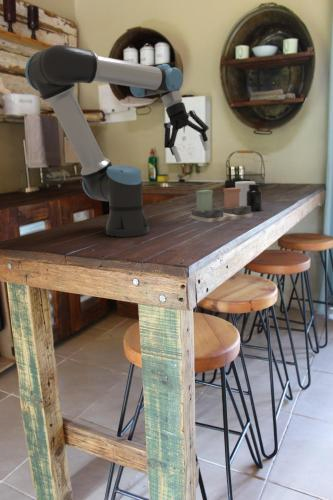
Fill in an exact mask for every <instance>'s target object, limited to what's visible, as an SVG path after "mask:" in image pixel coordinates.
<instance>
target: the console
mask: <svg viewBox="0 0 333 500" xmlns="http://www.w3.org/2000/svg"><path fill="white" fill-rule="evenodd" d="M253 216H254V215H253V213H252V211H251V206H239V207H233V209H229V208H224V206H219V207H218V208H214V209H213V208H212V209H211V210H205V212H201V211H197V209H196V210H195V209H191V214H189V219H191V220H196V221H201V222H203V223H209V222H210V223H214V222H215V223H216V222H217V221H218V222H225V221H233V220H234V221H235V220H241V219H247V218H249V219H250V218H254V217H253ZM218 222H217V223H218Z"/></svg>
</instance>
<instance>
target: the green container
mask: <svg viewBox="0 0 333 500" xmlns="http://www.w3.org/2000/svg"><path fill="white" fill-rule="evenodd" d="M194 194H195V195H196V211H201V212H205V210H211V209H213V194H214V190H212V189H211V190H209V189H203V190H202V189H201V190H195V193H194Z"/></svg>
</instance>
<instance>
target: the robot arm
mask: <svg viewBox="0 0 333 500" xmlns="http://www.w3.org/2000/svg"><path fill="white" fill-rule="evenodd" d="M24 73H25V74H24V75H25V78H26V81H27V83H28V84H29V85H30V87H31V88H32V89H33V90H35V91H38V93H39V94H40V96H41V99H42V100H43V102H46V103H49V104H50V106H51V107H52V110H53V113H54V114H55V116H56V117H57V120H58V122H59V123H60V125H61V128H62V129H63V131H64V134H65V136H66V138H67V140H68V141H69V144H70V146H71V147H72V149H73V152H74V154H75V155H76V157H77V159H78V161H79V164H80V165H81V171H80V175H81V177H82V181H81V185H82V190H83V191H84V193H85V195H87V196H88V197H89V198H91V199H93V200H95V201H99V202H108V203H109V205H108V206H109V215H108V219H107V222H106V224H105V225H106V227H105V234H107V235H106V236H108V235H110V236H109V237H114V236H116V237H117V238H130V237H139V236H145V235H147V234H149V232H150V231H149V229H150V228H149V224H148V221H147V218H146V216H145V213H144V208H143V207H144V205H143V204H144V203H143V176H142V172H141V169H140V168H139V167H137V166H131V165H119V164H118V165H117V164H116V165H113V164H112V162H111V160H110V158H106V157H105V156H104V154H103V153H102V151H101V148H100V146H99V145H98V142H97V140H96V138H95V136H94V134H93V132H92V129H91V127H90V125H89V122H88V121H87V119H86V117H85V114H84V113H83V110H82V108H81V106H80V103H79V102H78V100H77V97H76V96H75V95H76V94H75V93H74V92H75V88H76V84H79V83H80V84H81V83H83V84H92V83H93V82H98V83H99V82H100V83H108V84H112V85H118V86H119V85H120V86H126V87H129V89H130V92H131V94H132V95H133V96H134V97H135V98H144V97H148V96H154V95H158V94H159V96H160V98H161V101H162V103H163V107H164V108H165V112H166V114H167V117H168V118H169V121H168V122H164V123H163V127H164V148H165V149H169V150H170V153H171V155H172V156H174V159H175V161H176V163H181V162H182V159H181V156H180V154H179V151H178V148H177V145H175V143H176V139H177V135H178V132H179V130H181V129H183V128H185V127H189V128H191V129H193V130H194V131H195V132H198V133H199V139H200V142H201V143H202V146H203V149H204V151H205V152H207V151H209V150H210V147H209V145H208V141H209V139H208V137H207V133H206V132H207V131H208V130H209V126H208V125H207V124H206V123H205V122H204V121H203V120H202V118H200V117H199V116H198V115H197V113H196V111H195V110H194V109H192V110H189V111H188V112H187V110H186V106H185V103H184V102H183V98H182V96H181V92H180V89H181V88H182V86H183V83H184V76H183V72H182V71H181V70H180V69H179V68H177V67H171V66H170V65H169V64H167V63H162V64H159V65H157V66H152V65H146V64H142V63H137V62H131V61H128V60H127V61H126V60H122V59H117V58H112V57H107V56H103V55H101V56H100V55H97V54H96V53H95V51H93V50H91V49H87V48H86V49H85V48H81V47H76V46H70V45H64V44H55V45H51V46H49V47H47V48H45V49H42V50H40V51H37V52H36V53H33V55H31V56H30V57H29V59H28V60H27V61H26V64H25V69H24ZM189 118H191V119H192V120H193V121H194V122H195V123H194V122H192V120H190V119H189ZM116 237H115V238H116Z"/></svg>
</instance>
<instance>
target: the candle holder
mask: <svg viewBox="0 0 333 500" xmlns="http://www.w3.org/2000/svg"><path fill="white" fill-rule="evenodd" d="M249 184H257V183H256V181H249V180H248V181H247V180H246V181H245V180H243V181H235V182H234V186H235V187H234V188H241V192H240V200H239V206H247V191H248V190H249Z"/></svg>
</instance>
